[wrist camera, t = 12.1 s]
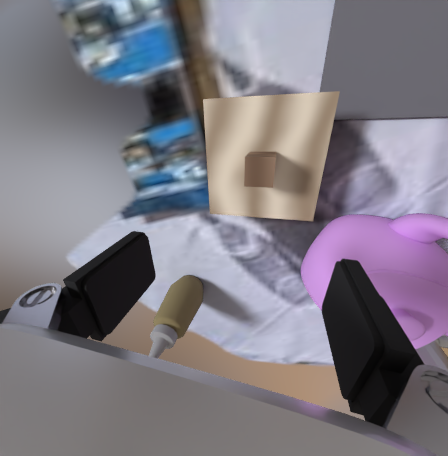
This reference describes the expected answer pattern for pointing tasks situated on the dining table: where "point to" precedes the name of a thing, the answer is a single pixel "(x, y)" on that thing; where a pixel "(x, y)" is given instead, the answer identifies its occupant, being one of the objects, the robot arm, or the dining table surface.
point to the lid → (268, 153)
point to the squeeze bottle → (176, 313)
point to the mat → (388, 59)
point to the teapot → (389, 267)
